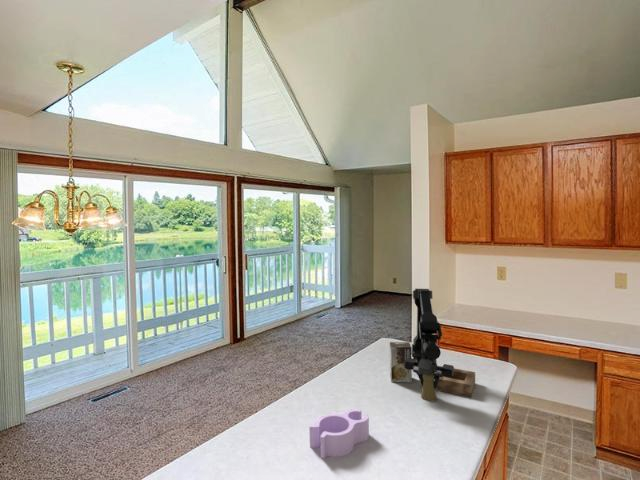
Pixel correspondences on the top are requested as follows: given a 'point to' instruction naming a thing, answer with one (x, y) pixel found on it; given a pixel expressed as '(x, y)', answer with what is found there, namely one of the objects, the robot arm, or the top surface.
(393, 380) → the coffee box
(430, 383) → the olive tall rounded piece
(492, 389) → the top surface
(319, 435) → the clip
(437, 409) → the top surface
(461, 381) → the well block
